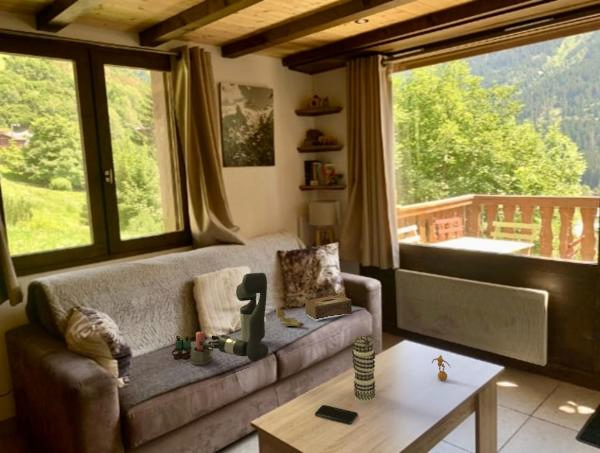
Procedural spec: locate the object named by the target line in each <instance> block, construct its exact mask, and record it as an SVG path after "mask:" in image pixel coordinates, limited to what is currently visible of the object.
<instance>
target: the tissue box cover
mask: <svg viewBox="0 0 600 453" xmlns="http://www.w3.org/2000/svg"><path fill="white" fill-rule="evenodd" d="M304 303H305V315H306V314H308V315H309V316H311V317H313V318H314V319H319V318H324V317H328V316H334V315H342V314H352V315H353V311H352V310H353V309H352V299H351V298H348V297H346V296H344V295H342V294H336V295H330V296H326V297H325V296H324V297H319V298H313V299H307V300H304Z"/></svg>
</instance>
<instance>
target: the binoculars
mask: <svg viewBox="0 0 600 453" xmlns="http://www.w3.org/2000/svg"><path fill="white" fill-rule="evenodd" d="M175 339H176V340H175V341H174V343H175V344H174V346H175V347H174V348H173V350H172V351H171V356H173V359H174V360H179V359H181V357H182V359H183V360H187V359H188V358H190V356H191V352H190V350H191V349H192V347H193V346H192V344H191V340H190V339H189V335H186V336H184V339H182V338H181V336H180V335H177V336H175ZM183 351H184V352H183ZM176 352H177V353H176Z"/></svg>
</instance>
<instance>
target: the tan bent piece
mask: <svg viewBox="0 0 600 453" xmlns="http://www.w3.org/2000/svg"><path fill="white" fill-rule="evenodd" d="M275 312H276V317H277V318H278V319H279V320H280V322H281V323H282V325H283V326H284V325H285V326H284V327H286V326H297V328H302V327H303V326H304V325H305V323H304V322H300V321H298V319H297V318H295V317H286V312H284V310H282V309H280V308H279V307H278V306H276V308H275Z"/></svg>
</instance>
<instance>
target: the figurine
mask: <svg viewBox="0 0 600 453" xmlns="http://www.w3.org/2000/svg"><path fill="white" fill-rule="evenodd" d="M434 361H437V366H438V370H439V372H438V374H437V378H438V380H439V381H441V382H444V381H447V379H448V374H447V372H446V371H444V370H445V368H446V366H445V364H446V365H448V366H449V367H450V368H452V366H451V364H449V362H448V361H446V360H444V359H443V356H442V354H440V355H439V356H438V357H436V358H433V359H432V361H431V364H433V363H434ZM443 362H444V363H445V364H444V363H443ZM441 367H442V370H441Z"/></svg>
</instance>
